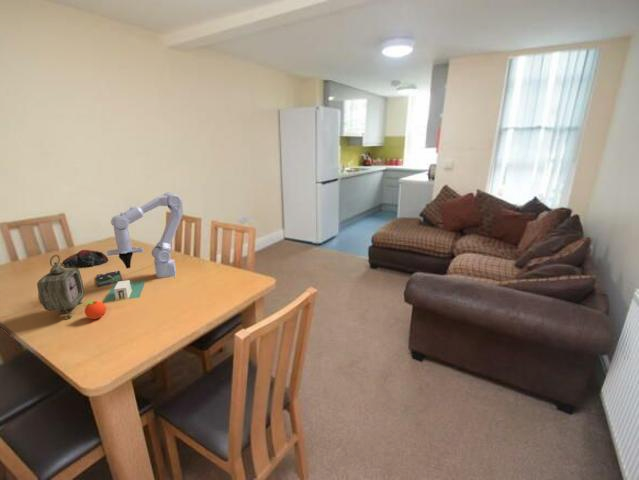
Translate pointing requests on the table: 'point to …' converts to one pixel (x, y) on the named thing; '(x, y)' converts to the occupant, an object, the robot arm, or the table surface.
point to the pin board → (135, 292)
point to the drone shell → (86, 259)
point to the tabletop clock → (61, 288)
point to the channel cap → (122, 286)
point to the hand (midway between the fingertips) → (128, 267)
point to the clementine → (95, 310)
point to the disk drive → (108, 278)
